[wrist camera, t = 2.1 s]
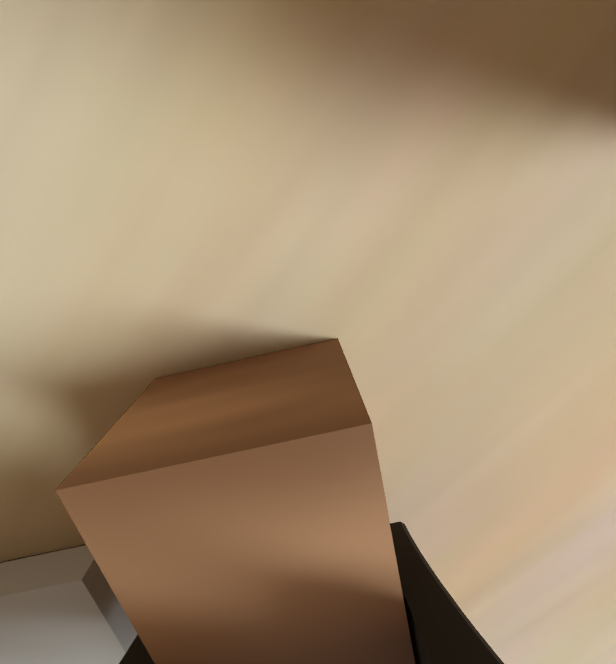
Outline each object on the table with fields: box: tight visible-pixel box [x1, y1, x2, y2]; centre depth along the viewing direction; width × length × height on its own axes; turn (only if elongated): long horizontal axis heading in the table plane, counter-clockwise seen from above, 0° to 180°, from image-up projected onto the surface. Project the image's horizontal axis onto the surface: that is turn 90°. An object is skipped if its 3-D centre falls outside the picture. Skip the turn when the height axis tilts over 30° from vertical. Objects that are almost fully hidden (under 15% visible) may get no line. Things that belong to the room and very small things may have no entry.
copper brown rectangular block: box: [55, 338, 415, 664], centre depth 9 cm, size 12×5×4 cm, turn 12°
